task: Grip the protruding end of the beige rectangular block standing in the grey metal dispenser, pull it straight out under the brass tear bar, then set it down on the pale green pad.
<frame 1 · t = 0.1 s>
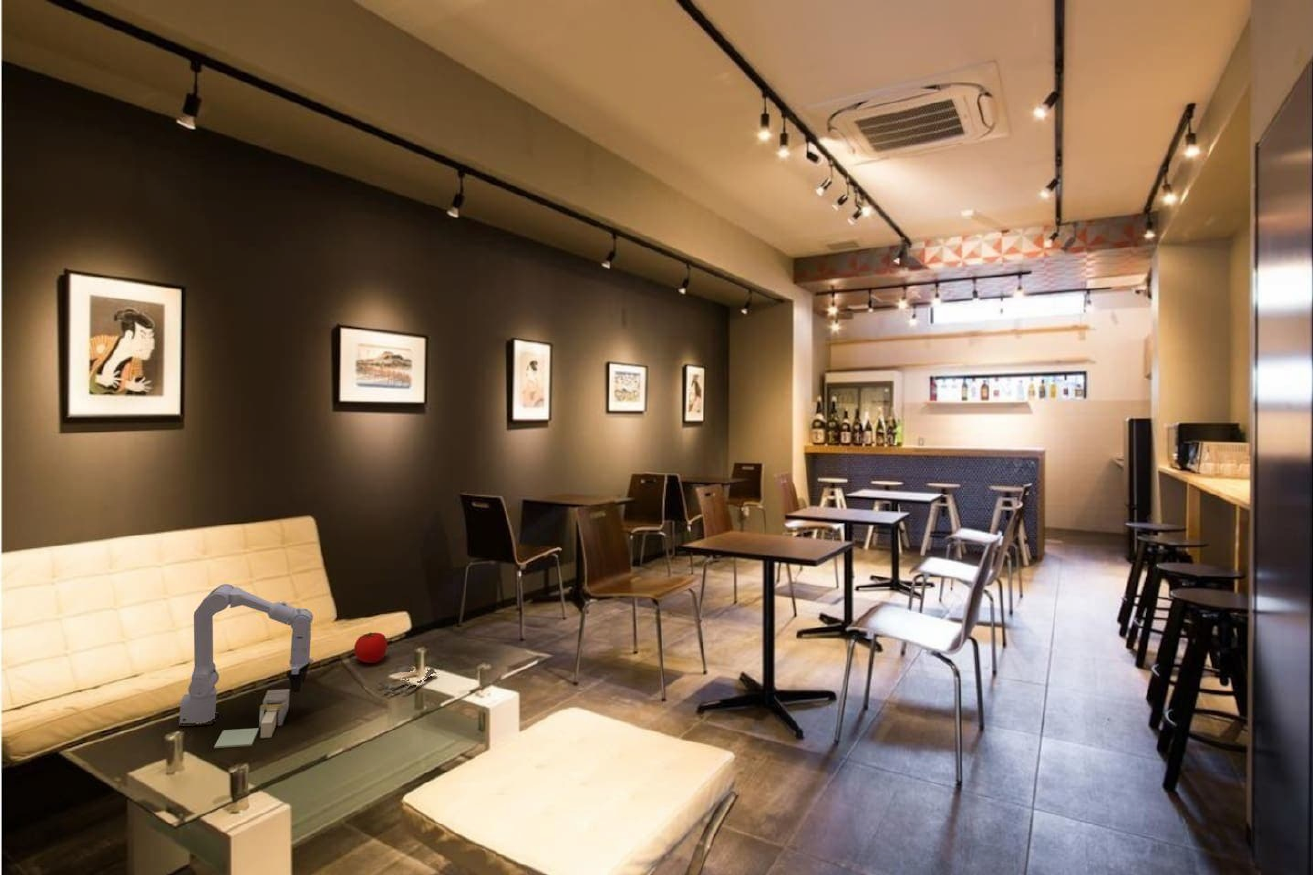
hand: (298, 686, 235), 10 cm above the table, fingers open, 7 cm apart
skeleton model: (406, 686, 266), on the table
tomato: (370, 661, 285), on the table
beige rectangular block: (268, 730, 225), on the table
pad: (237, 738, 218), on the table
dispenser: (273, 719, 232), on the table
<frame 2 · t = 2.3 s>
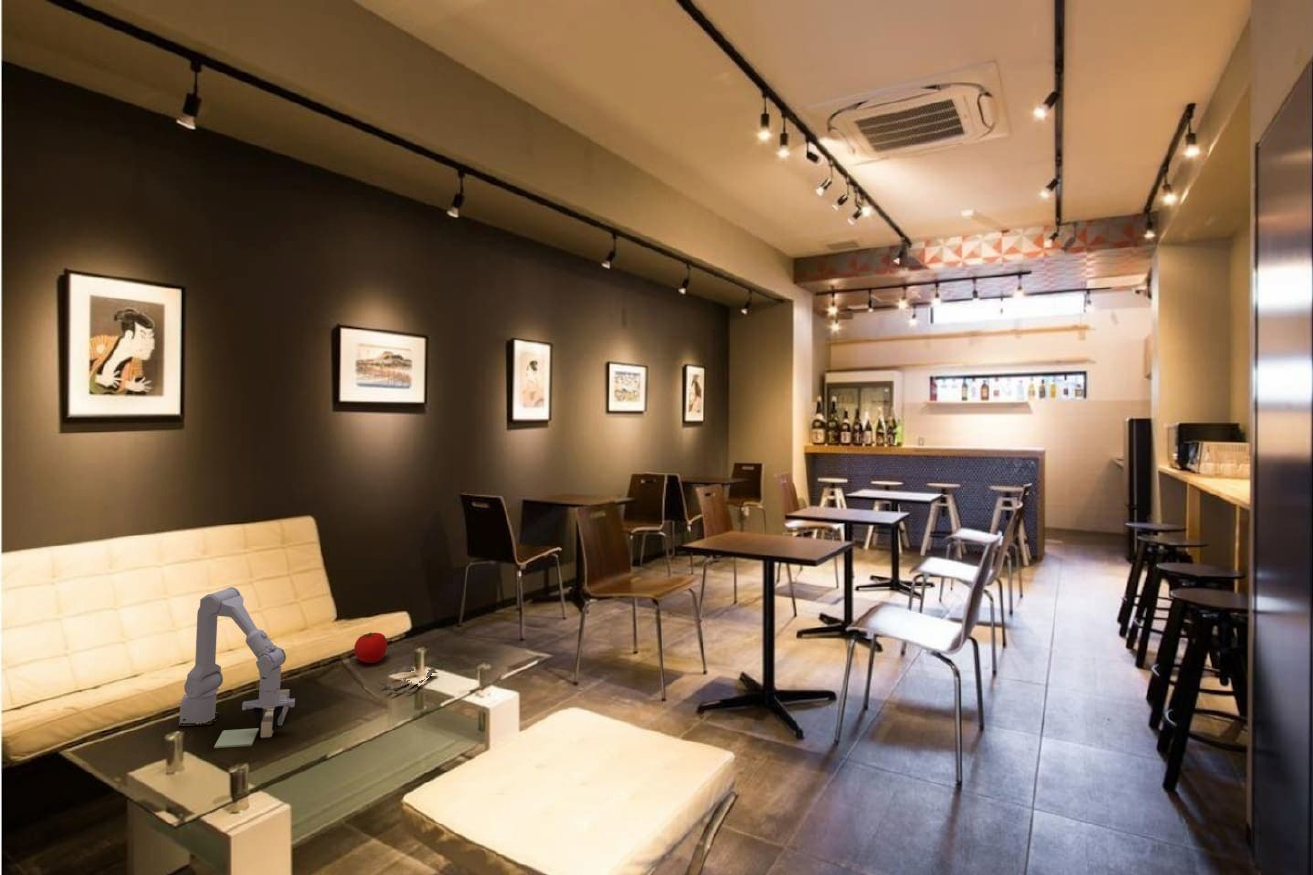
hand: (267, 729, 223), 1 cm above the table, fingers closed on beige rectangular block, 3 cm apart
beige rectangular block: (269, 729, 225), on the table, touching gripper
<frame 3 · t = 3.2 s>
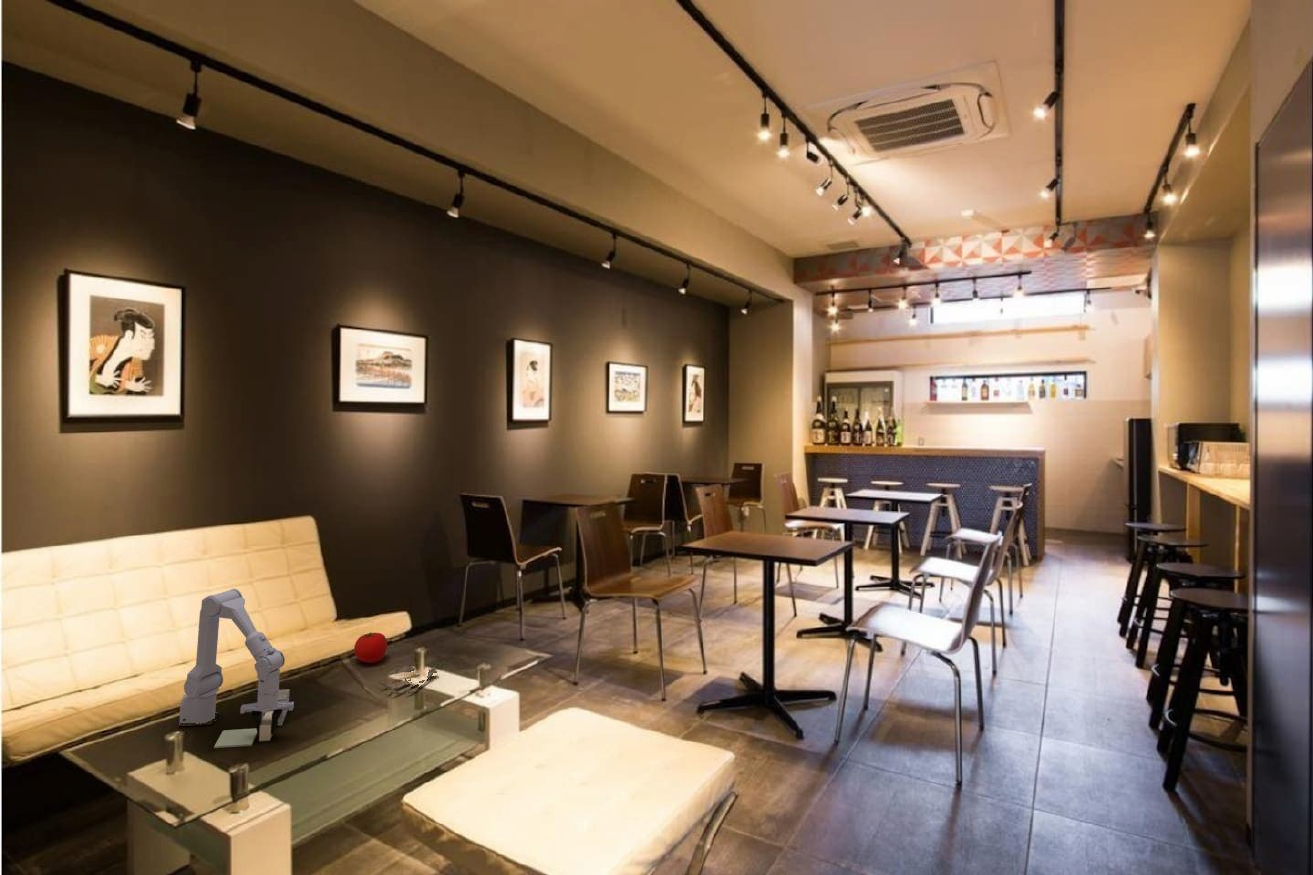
hand: (266, 732, 221), 1 cm above the table, fingers closed on beige rectangular block, 3 cm apart
beige rectangular block: (267, 732, 223), on the table, touching gripper
everything else where it was.
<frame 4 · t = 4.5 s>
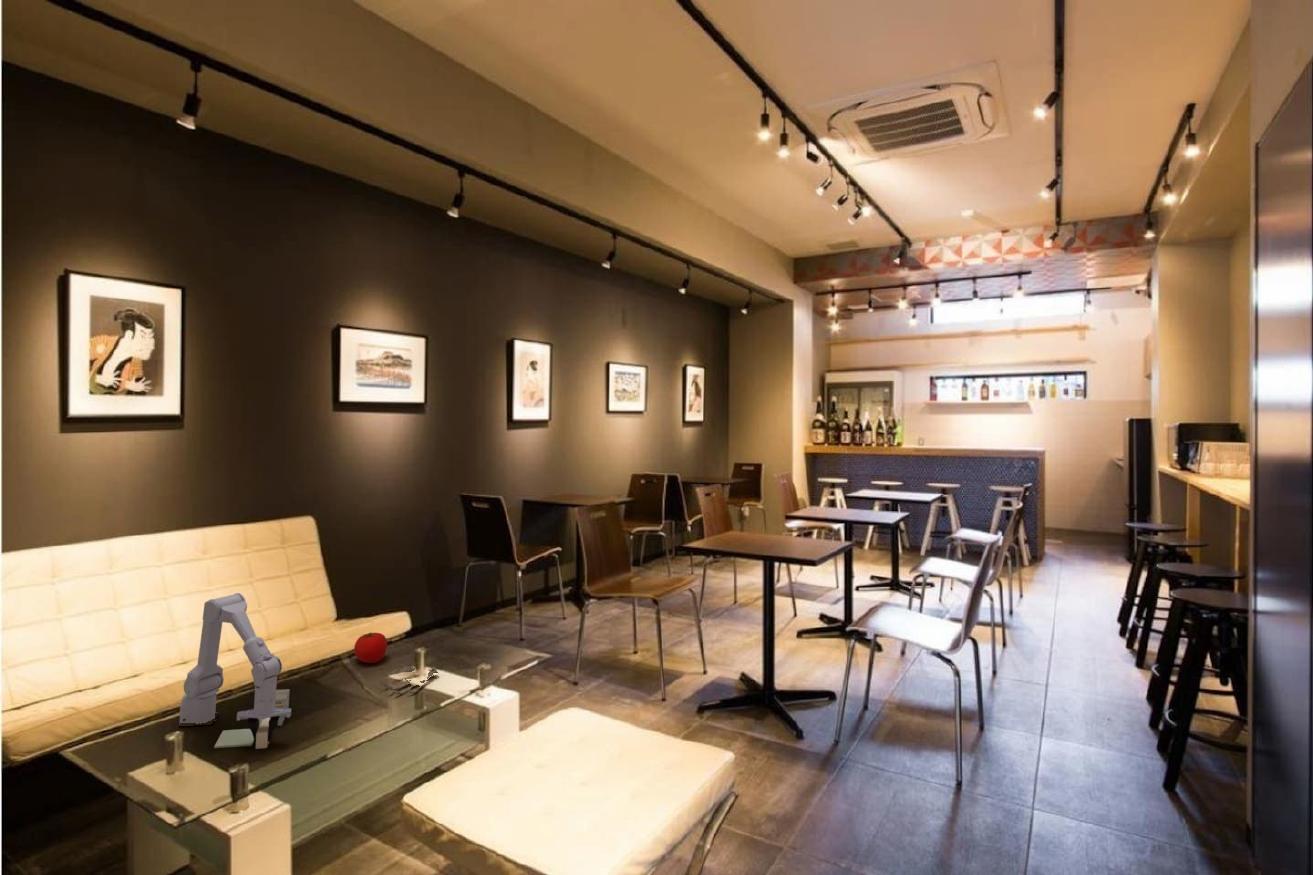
hand: (262, 740, 216), 1 cm above the table, fingers closed on beige rectangular block, 3 cm apart
beige rectangular block: (264, 740, 219), on the table, touching gripper
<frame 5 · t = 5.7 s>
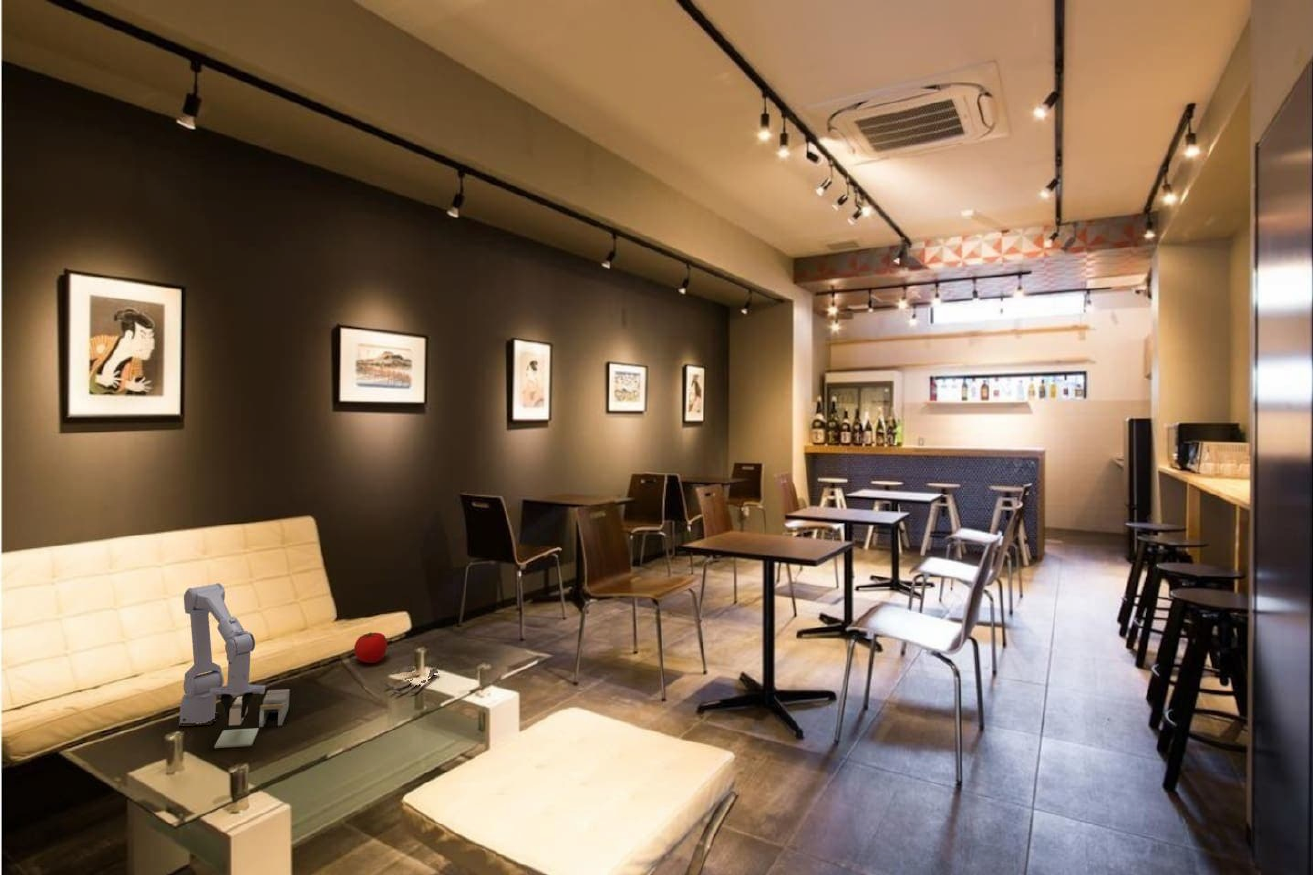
hand: (236, 716, 216), 8 cm above the table, fingers closed on beige rectangular block, 3 cm apart
beige rectangular block: (238, 718, 218), point 6 cm above the table, touching gripper
when the fingers open (4 cm above the table, at t = 6.8 s): beige rectangular block drops 1 cm, resting on pad.
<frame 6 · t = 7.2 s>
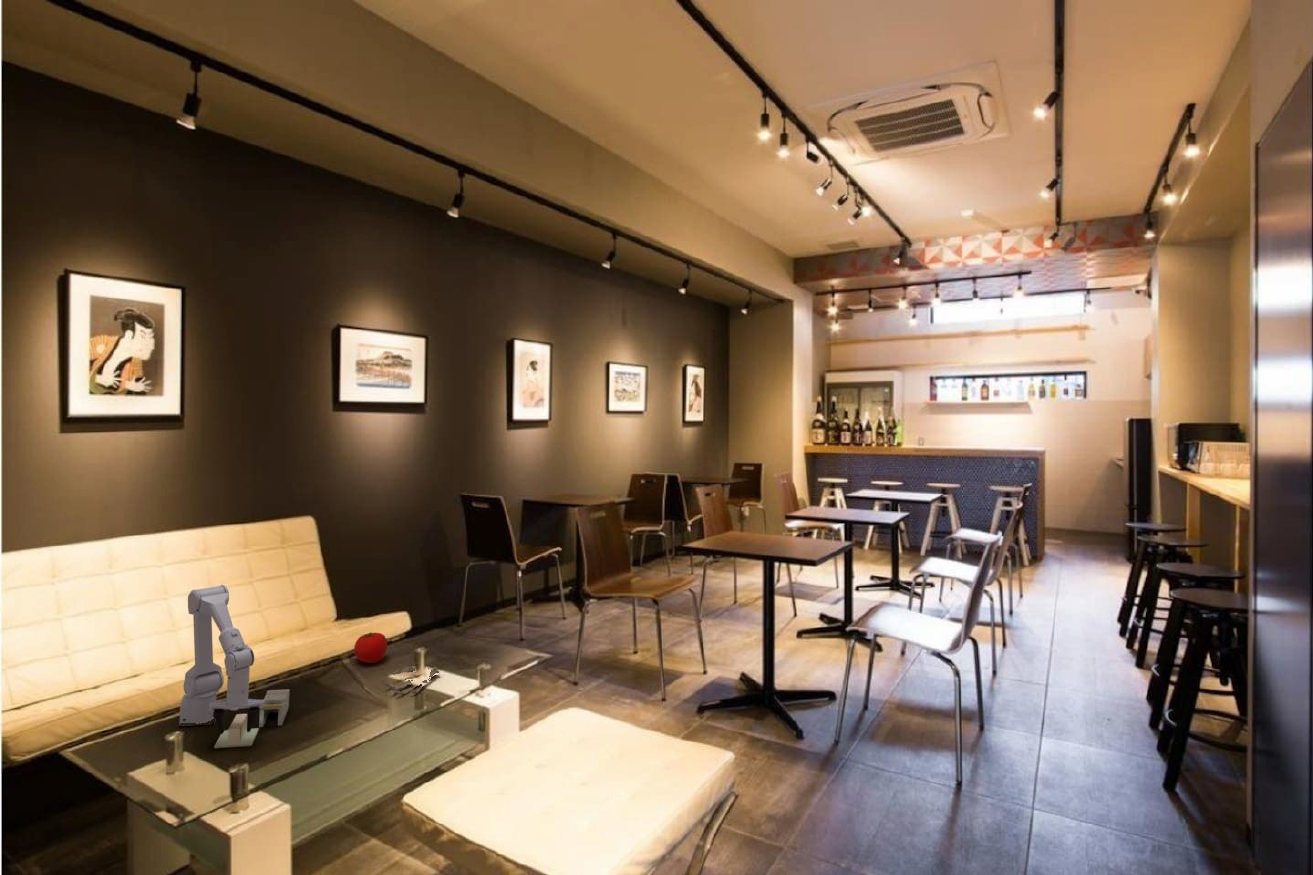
hand: (235, 731, 216), 4 cm above the table, fingers open, 7 cm apart
beige rectangular block: (237, 736, 218), point 1 cm above the table, touching pad
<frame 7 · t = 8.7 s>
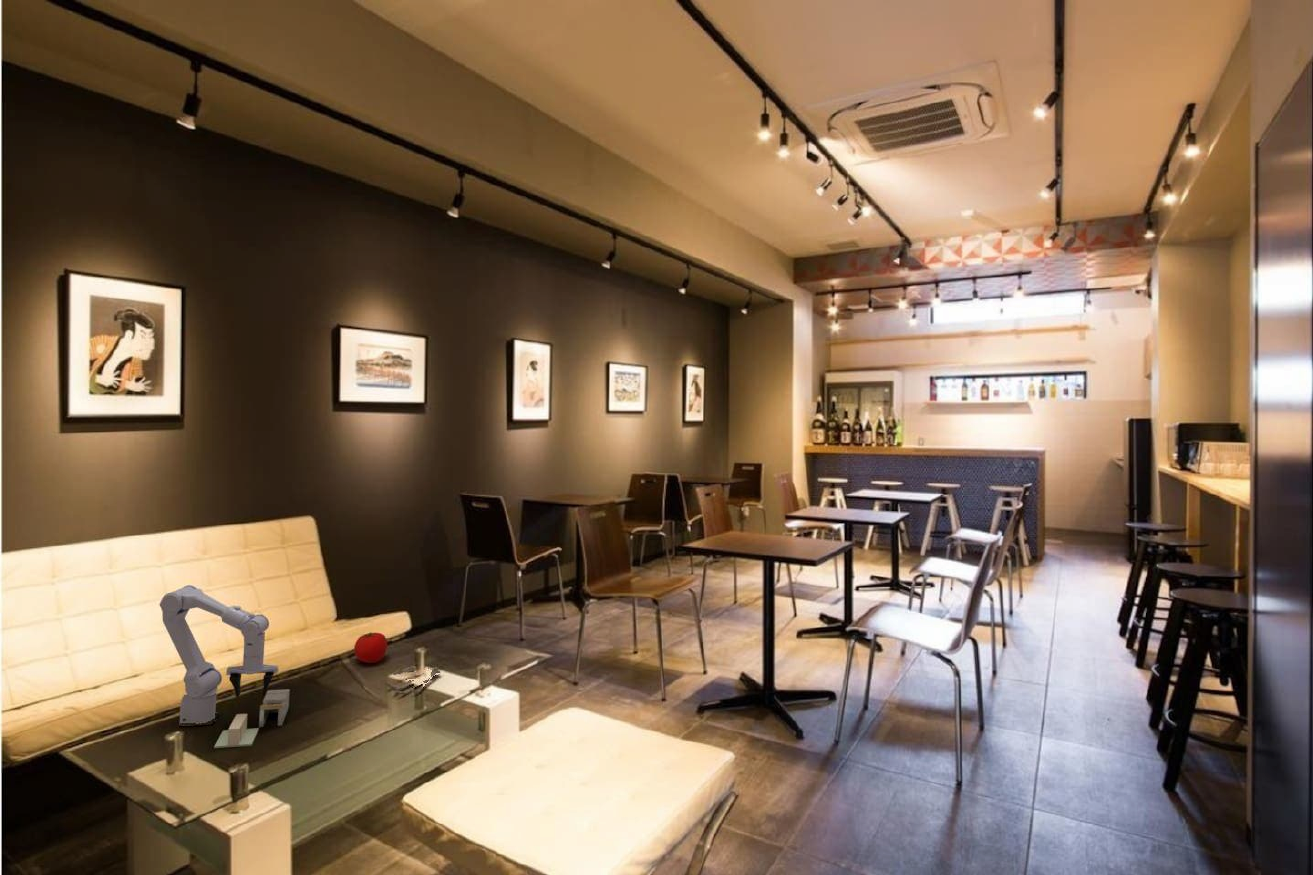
hand: (251, 695, 227), 10 cm above the table, fingers open, 7 cm apart
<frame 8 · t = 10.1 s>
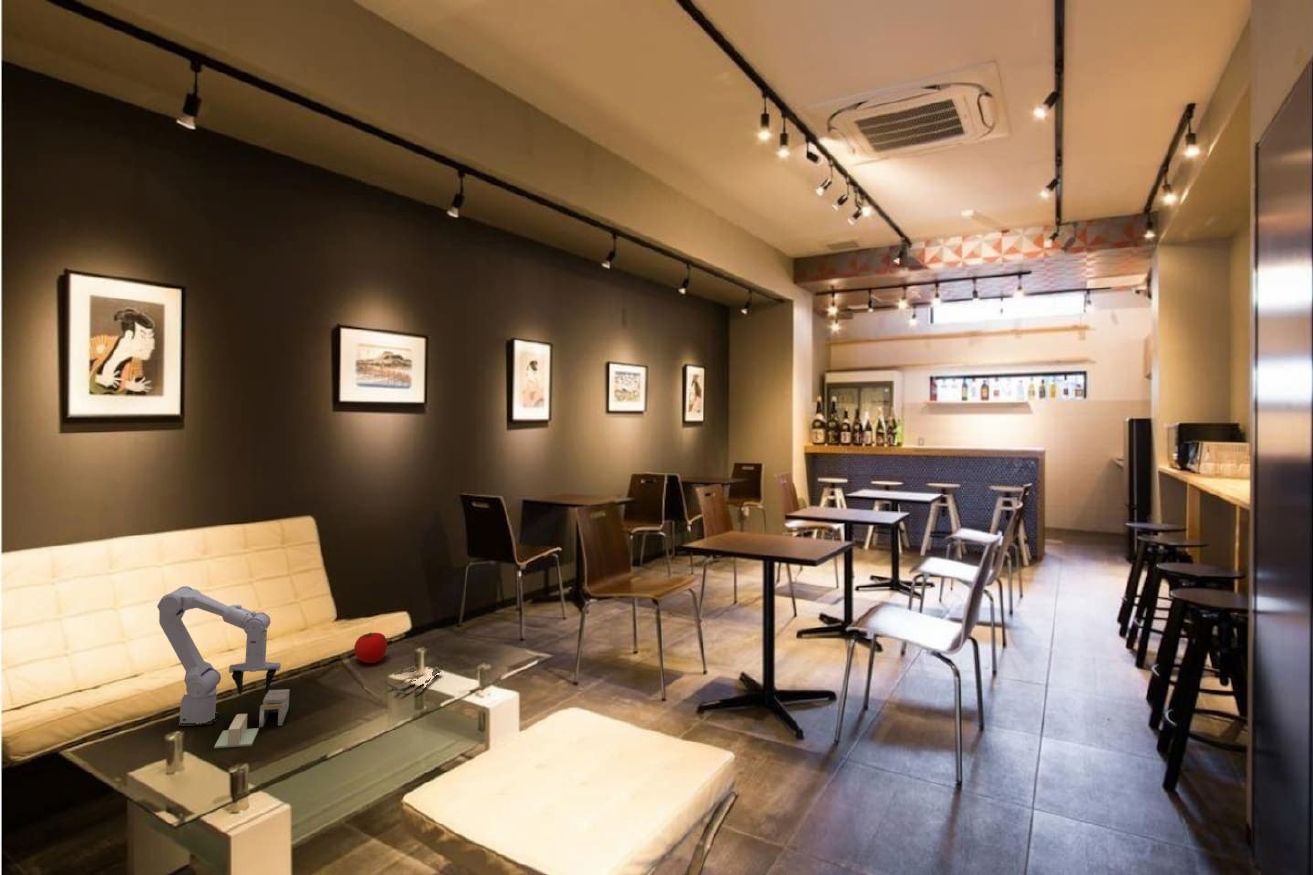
hand: (253, 692, 229), 10 cm above the table, fingers open, 7 cm apart
at the end: beige rectangular block inside the target area on the pad (0.1 cm from its centre), point 0.6 cm above the pad's base; beige rectangular block touching pad; the gripper is holding nothing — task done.
